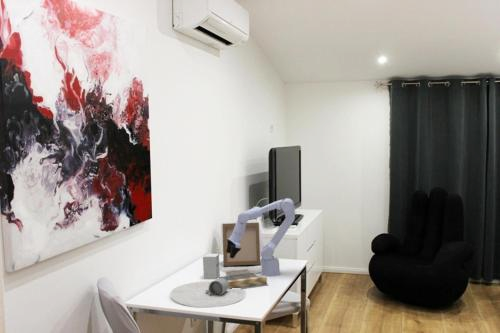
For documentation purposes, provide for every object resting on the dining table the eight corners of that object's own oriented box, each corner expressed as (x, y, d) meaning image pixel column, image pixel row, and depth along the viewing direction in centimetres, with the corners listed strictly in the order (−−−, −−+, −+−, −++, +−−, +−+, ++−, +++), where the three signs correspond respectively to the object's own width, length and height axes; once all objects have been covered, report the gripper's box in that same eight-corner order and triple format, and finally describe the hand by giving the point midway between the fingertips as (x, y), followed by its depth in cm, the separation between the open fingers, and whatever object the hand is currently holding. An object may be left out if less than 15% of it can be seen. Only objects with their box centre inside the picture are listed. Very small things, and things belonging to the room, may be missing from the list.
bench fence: (263, 281, 249) (263, 273, 248) (266, 284, 243) (266, 276, 243) (226, 286, 243) (226, 278, 242) (229, 289, 238) (228, 281, 237)
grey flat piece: (247, 274, 263) (246, 269, 263) (251, 278, 255) (251, 272, 255) (226, 277, 259) (225, 271, 259) (229, 281, 251) (229, 275, 251)
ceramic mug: (229, 292, 235) (228, 276, 234) (223, 297, 227) (222, 281, 227) (209, 291, 238) (208, 275, 238) (203, 296, 230) (202, 280, 230)
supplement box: (216, 280, 257) (215, 256, 256) (203, 279, 258) (202, 256, 257) (220, 276, 264) (219, 253, 263) (207, 275, 265) (206, 253, 265)
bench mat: (253, 273, 266) (253, 272, 266) (268, 286, 241) (268, 285, 241) (218, 278, 260) (218, 277, 260) (230, 291, 235) (230, 290, 235)
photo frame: (260, 266, 282) (258, 224, 280) (223, 267, 283) (221, 225, 281) (260, 259, 296) (258, 220, 295) (225, 261, 297) (223, 221, 296)
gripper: (228, 226, 269) (220, 248, 270) (234, 235, 255) (226, 258, 256) (239, 229, 271) (231, 251, 272) (246, 238, 257) (238, 261, 259)
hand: (229, 255), depth 264 cm, fingers open, 7 cm apart
